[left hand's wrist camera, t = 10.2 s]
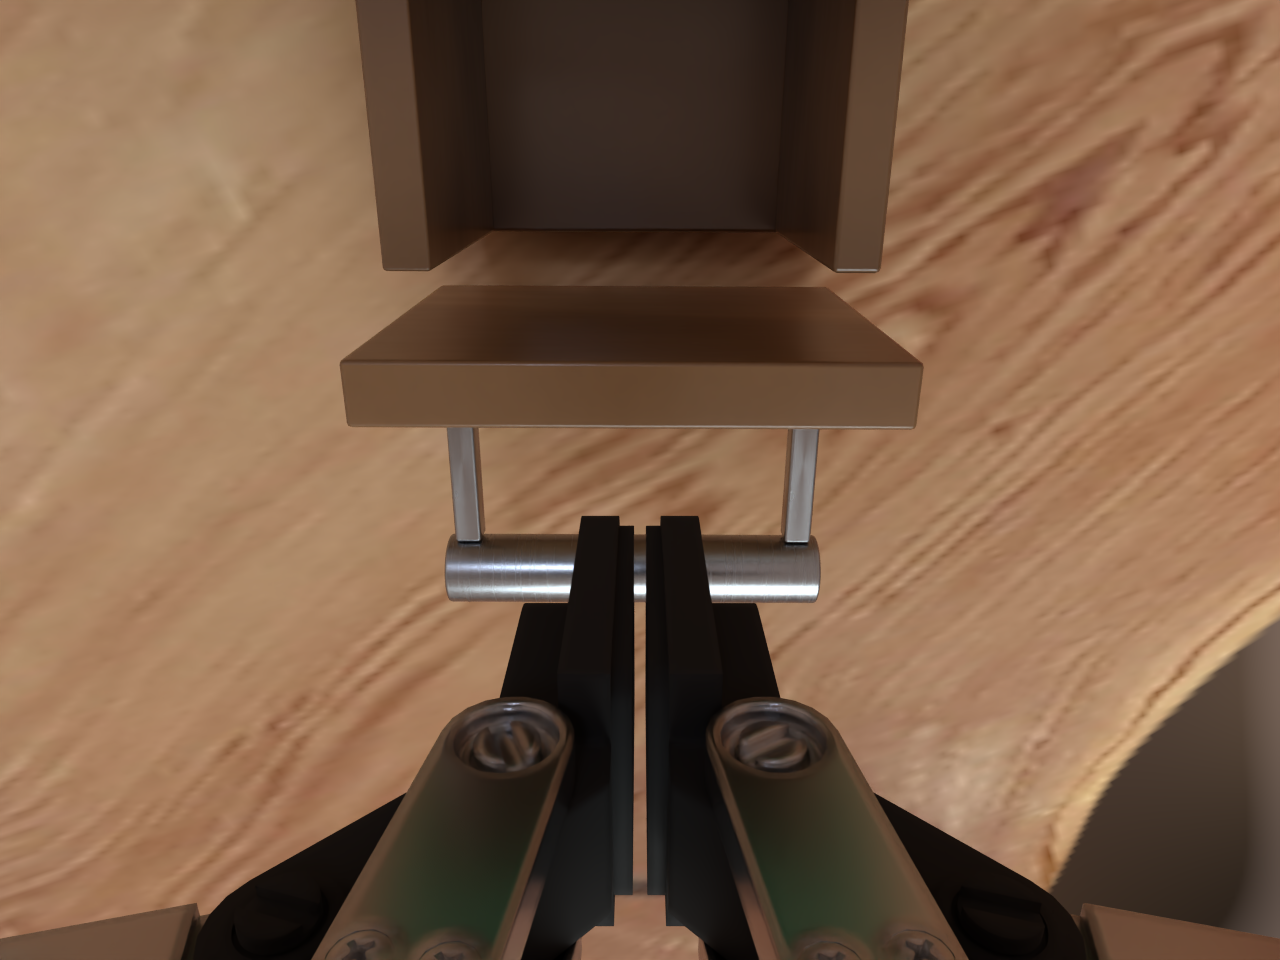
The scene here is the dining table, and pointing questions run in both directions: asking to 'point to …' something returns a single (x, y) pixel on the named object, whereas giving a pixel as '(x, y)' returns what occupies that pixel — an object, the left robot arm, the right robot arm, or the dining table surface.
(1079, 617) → the dining table surface
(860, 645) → the dining table surface
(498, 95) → the drawer
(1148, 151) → the dining table surface
